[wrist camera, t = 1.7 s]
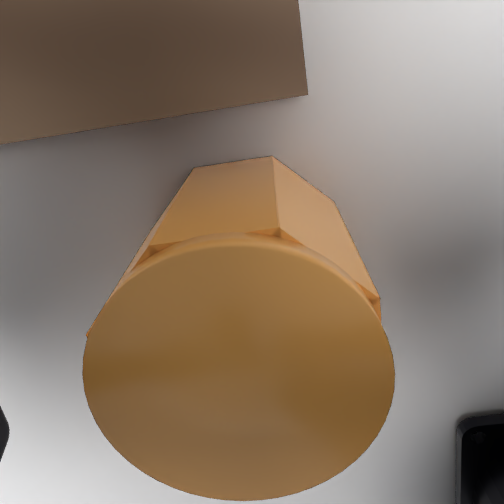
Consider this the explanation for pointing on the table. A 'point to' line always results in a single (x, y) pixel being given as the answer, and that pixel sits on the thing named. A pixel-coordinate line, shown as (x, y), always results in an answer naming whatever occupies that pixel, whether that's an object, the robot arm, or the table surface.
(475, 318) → the table surface
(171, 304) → the orange wooden cylinder
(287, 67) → the wooden board with peg
